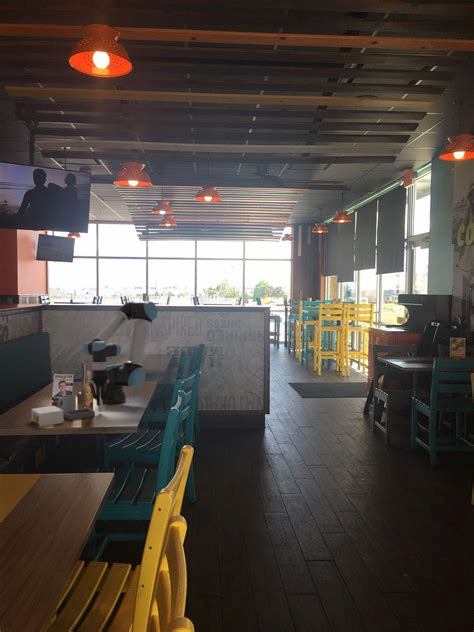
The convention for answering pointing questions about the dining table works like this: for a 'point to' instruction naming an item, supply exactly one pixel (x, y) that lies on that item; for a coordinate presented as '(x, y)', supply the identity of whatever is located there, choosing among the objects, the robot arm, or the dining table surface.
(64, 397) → the cup
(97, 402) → the robot arm
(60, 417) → the small white side table
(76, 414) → the grey storage tray
